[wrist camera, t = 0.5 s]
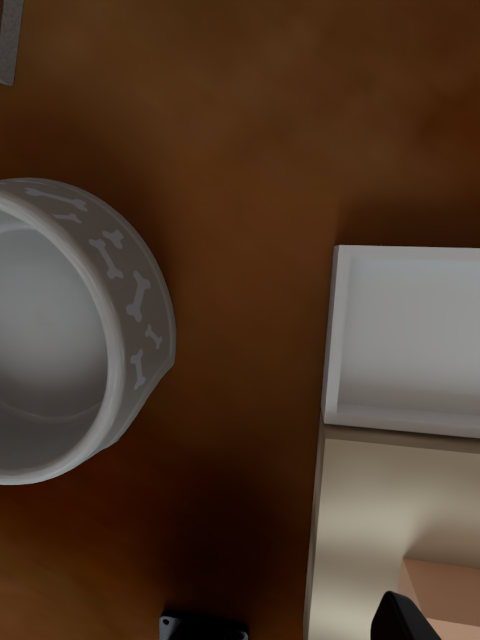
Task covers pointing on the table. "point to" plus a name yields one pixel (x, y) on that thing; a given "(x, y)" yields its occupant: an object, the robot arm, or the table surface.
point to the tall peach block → (444, 596)
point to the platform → (384, 519)
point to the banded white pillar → (9, 38)
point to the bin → (404, 340)
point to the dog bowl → (73, 327)
